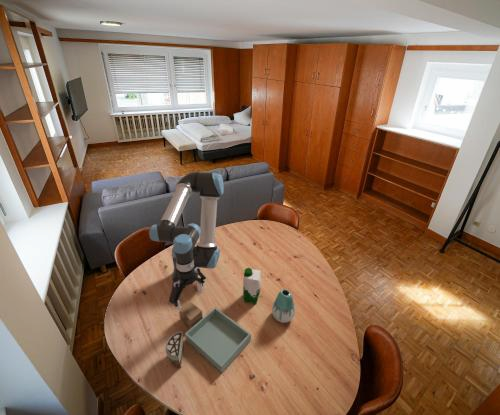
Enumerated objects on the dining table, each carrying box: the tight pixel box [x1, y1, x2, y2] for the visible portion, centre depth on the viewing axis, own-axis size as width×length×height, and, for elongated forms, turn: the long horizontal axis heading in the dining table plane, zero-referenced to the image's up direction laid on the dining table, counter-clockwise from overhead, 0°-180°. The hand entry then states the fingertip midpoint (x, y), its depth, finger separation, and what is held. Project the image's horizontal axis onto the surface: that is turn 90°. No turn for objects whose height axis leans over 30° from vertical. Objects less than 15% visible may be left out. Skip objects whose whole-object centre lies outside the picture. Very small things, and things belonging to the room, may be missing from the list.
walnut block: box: [178, 301, 204, 330], centre depth 133 cm, size 9×7×8 cm
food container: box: [165, 331, 185, 369], centre depth 116 cm, size 12×6×10 cm, turn 5°
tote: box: [184, 307, 252, 374], centre depth 125 cm, size 24×20×5 cm
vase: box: [271, 288, 296, 324], centre depth 134 cm, size 12×12×18 cm
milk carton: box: [242, 267, 262, 305], centre depth 143 cm, size 9×9×20 cm
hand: (189, 300), depth 128 cm, fingers open, 13 cm apart
